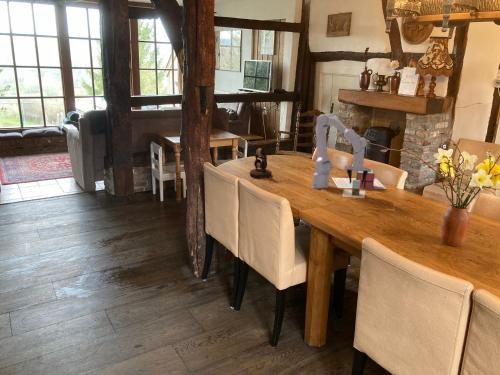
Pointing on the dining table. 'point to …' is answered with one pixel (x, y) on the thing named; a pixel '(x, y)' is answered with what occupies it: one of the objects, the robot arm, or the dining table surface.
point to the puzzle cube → (367, 181)
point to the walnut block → (355, 191)
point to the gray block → (356, 184)
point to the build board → (349, 194)
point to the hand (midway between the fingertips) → (356, 183)
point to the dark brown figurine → (260, 163)
